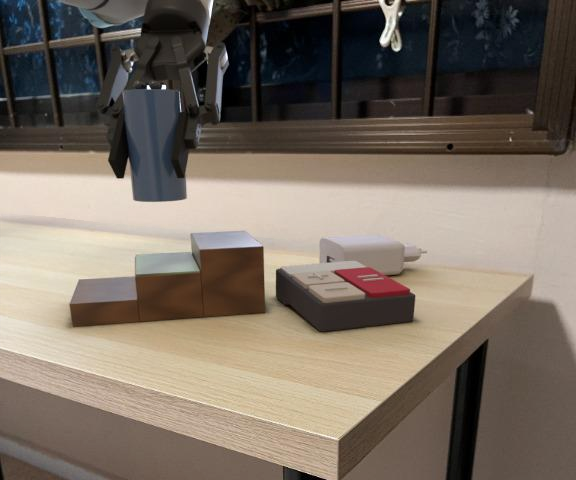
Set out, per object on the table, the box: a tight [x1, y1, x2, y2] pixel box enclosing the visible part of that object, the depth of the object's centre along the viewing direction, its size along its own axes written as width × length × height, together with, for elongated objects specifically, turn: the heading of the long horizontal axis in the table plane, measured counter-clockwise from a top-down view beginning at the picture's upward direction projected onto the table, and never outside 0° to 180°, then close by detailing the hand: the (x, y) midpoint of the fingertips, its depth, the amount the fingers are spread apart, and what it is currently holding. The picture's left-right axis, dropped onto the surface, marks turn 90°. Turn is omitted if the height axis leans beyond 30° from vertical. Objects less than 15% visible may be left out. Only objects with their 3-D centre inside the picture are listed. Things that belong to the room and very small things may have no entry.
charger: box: [318, 234, 428, 276], centre depth 89 cm, size 5×9×15 cm
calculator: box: [275, 261, 416, 333], centre depth 70 cm, size 11×4×15 cm
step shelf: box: [68, 230, 266, 327], centre depth 71 cm, size 21×12×8 cm, turn 103°
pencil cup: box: [122, 80, 188, 203], centre depth 66 cm, size 6×6×12 cm
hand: (146, 169), depth 64 cm, fingers closed on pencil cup, 6 cm apart
